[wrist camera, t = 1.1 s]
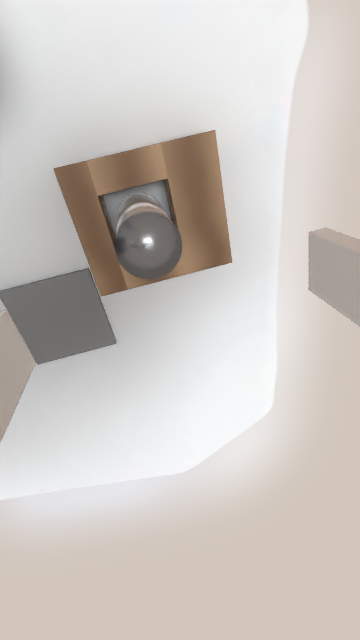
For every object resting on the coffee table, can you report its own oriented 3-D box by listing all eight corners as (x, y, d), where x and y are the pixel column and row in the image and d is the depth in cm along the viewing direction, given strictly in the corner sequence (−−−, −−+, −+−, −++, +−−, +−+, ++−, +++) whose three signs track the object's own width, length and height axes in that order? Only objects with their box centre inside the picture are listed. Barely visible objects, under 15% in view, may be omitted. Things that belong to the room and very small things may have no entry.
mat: (38, 362, 38) (37, 364, 38) (-1, 291, 33) (-3, 292, 33) (116, 341, 39) (116, 343, 38) (88, 268, 34) (88, 269, 33)
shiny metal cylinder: (125, 242, 33) (126, 286, 22) (112, 198, 31) (105, 222, 20) (166, 232, 33) (188, 270, 22) (156, 187, 31) (174, 204, 20)
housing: (103, 282, 35) (101, 296, 31) (61, 167, 29) (53, 168, 25) (221, 251, 35) (232, 262, 32) (204, 133, 29) (215, 129, 26)
